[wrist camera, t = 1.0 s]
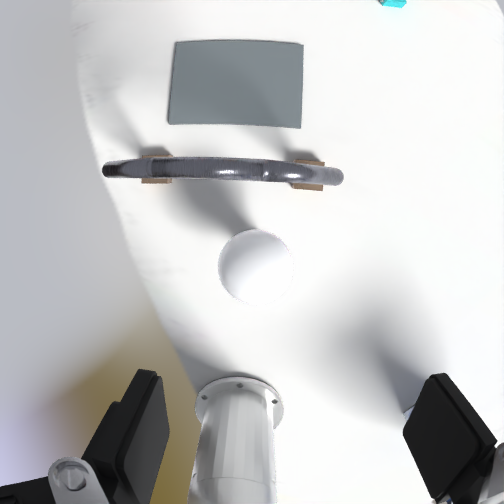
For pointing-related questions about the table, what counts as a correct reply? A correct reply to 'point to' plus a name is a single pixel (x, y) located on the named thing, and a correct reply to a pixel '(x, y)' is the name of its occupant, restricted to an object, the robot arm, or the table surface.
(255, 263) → the lightbulb
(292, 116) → the mat
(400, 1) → the chart
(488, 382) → the table surface
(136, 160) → the wire arch
